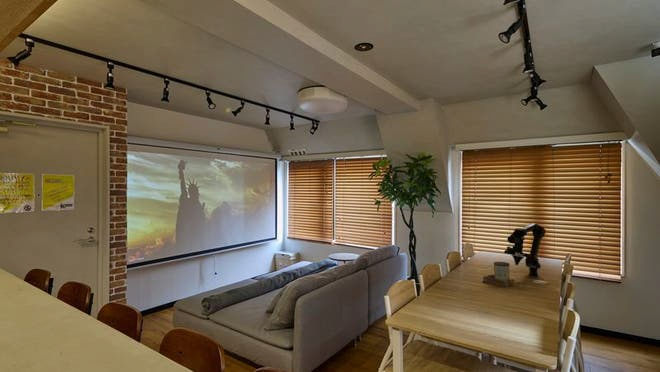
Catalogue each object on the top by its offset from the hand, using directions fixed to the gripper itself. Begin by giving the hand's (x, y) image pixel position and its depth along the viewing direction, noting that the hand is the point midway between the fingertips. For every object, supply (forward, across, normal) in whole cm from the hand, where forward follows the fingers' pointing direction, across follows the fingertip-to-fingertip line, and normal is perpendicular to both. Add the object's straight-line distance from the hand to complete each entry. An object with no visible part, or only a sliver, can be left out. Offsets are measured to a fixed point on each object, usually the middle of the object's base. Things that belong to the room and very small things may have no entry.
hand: (516, 265), depth 245 cm
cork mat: (+9, -12, +11) cm, 18 cm away
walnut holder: (+15, +18, +7) cm, 24 cm away
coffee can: (+14, +14, +5) cm, 21 cm away
